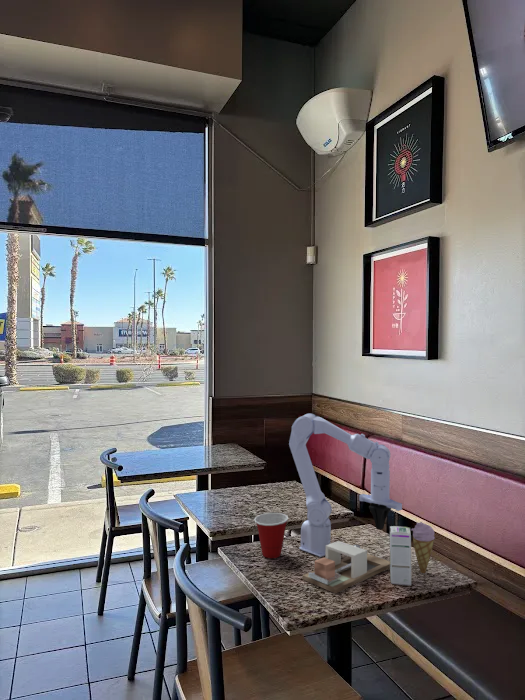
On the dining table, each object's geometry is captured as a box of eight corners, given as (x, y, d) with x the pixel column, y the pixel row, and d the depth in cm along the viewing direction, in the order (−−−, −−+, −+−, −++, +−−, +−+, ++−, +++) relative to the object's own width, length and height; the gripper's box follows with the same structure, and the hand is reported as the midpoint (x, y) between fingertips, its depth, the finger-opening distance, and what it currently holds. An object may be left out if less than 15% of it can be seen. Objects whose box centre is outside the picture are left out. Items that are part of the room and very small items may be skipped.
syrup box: (411, 585, 148) (412, 533, 148) (389, 583, 149) (390, 531, 149) (410, 577, 154) (410, 526, 154) (389, 575, 155) (389, 525, 155)
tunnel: (325, 567, 157) (325, 545, 157) (338, 562, 161) (338, 540, 161) (354, 578, 149) (354, 555, 149) (366, 572, 154) (367, 550, 154)
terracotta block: (314, 575, 149) (314, 561, 149) (323, 571, 152) (323, 557, 152) (325, 580, 146) (325, 565, 146) (334, 575, 149) (335, 561, 149)
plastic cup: (248, 551, 172) (248, 514, 172) (279, 546, 177) (279, 510, 177) (261, 563, 162) (262, 524, 162) (293, 558, 167) (294, 520, 167)
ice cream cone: (406, 571, 157) (406, 520, 157) (416, 565, 162) (416, 516, 162) (427, 578, 153) (428, 525, 153) (437, 572, 157) (437, 520, 157)
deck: (302, 579, 151) (302, 574, 151) (360, 555, 170) (360, 551, 170) (335, 593, 143) (335, 588, 143) (392, 566, 161) (392, 562, 161)
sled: (308, 576, 149) (308, 557, 149) (349, 559, 162) (349, 541, 162) (327, 584, 144) (327, 564, 144) (367, 566, 157) (368, 548, 157)
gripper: (407, 487, 165) (407, 531, 165) (368, 478, 175) (368, 520, 175) (394, 491, 160) (394, 536, 160) (355, 482, 170) (355, 524, 170)
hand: (379, 528), depth 167 cm, fingers closed
